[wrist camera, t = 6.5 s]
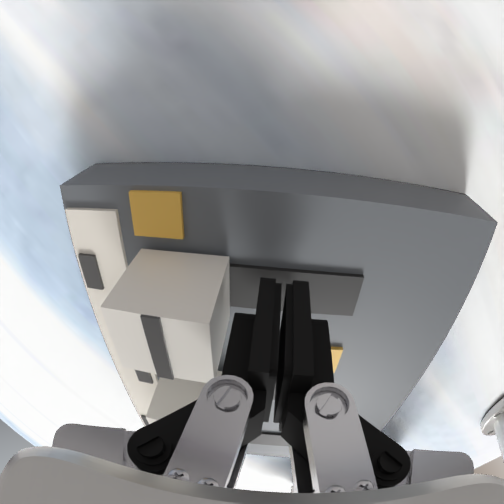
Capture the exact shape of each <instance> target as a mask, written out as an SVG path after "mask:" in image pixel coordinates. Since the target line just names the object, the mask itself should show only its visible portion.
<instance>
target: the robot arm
mask: <svg viewBox="0 0 504 504" xmlns="http://www.w3.org/2000/svg"><path fill="white" fill-rule="evenodd" d="M281 291H282V283H276V279H274V278H263V277H261V278H260V285H259V292H258V300H257V307H256V314H246V313H236V312H235V314H234V318H233V322H232V327H231V332H230V337H229V342H228V346H227V351H226V356H225V361H224V366H223V370H222V375H221V376H217V377H215V378H212V379H211V380H209V381H208V382H207V383H206V384H205V385H204V387H203V388H202V390H201V393H200V395H199V397H198V399H197V400H195V401H194V402H192V403H190V404H188V405H186V406H184V407H182V408H180V409H178V410H177V411H175V412H173V413H171V414H169V415H167V416H165V417H163V418H161V419H159V420H157V421H155V422H153V423H151V424H149V425H147V426H145V427H143V428H141V429H139V430H137V431H126V429H123V428H109V427H98V426H88V425H80V424H66V425H63V426H61V427H60V428H59V429H58V430H57V431H56V433H55V436H54V440H53V445H52V447H48V446H42V447H29V448H25V449H22V450H20V451H19V452H17V453H16V454H15V455H14V456H13V457H12V458H11V459H10V460H9V462H8V463H7V465H6V466H5V468H4V470H3V471H2V473H1V475H0V504H504V479H502V478H499V477H496V476H492V475H487V474H474V466H473V461H472V460H471V458H470V456H468V455H467V454H465V453H462V452H448V451H431V450H418V449H414V450H413V451H406V450H404V449H403V448H402V447H401V446H400V445H399V444H397V443H396V442H394V441H393V440H392V439H390V438H389V437H388V436H386V435H385V434H384V433H382V432H381V431H380V430H378V429H377V428H376V427H374V426H373V425H372V424H370V423H369V422H368V421H367V420H365V419H364V418H363V417H361V416H360V415H359V414H358V412H357V408H356V405H355V402H354V399H353V397H352V395H351V393H350V392H349V391H348V390H347V389H346V388H344V387H343V386H341V385H339V384H335V383H334V374H333V364H332V354H331V344H330V335H329V326H328V321H327V320H319V319H311V304H310V291H309V282H308V281H298V280H293V282H292V284H286V290H285V298H284V305H283V312H282V319H281V326H280V316H281ZM275 384H276V390H275ZM274 390H275V405H274V419H273V423H279V431H281V437H282V438H283V439H284V440H285V441H286V442H287V443H289V453H290V461H291V469H292V477H293V485H294V493H279V492H262V491H250V490H240V489H235V486H236V483H237V480H238V477H239V474H240V471H241V468H242V465H243V462H244V459H245V456H246V452H247V449H248V446H249V443H250V442H251V441H253V440H254V439H256V438H257V437H258V436H260V435H261V431H262V425H263V422H269V417H270V411H271V406H272V401H273V395H274ZM480 426H481V430H482V433H483V434H484V435H496V436H497V439H498V443H499V446H500V450H501V454H502V458H503V461H504V397H503V398H502V399H501V400H500V401H499V402H497V403H496V404H495V405H494V406H493V407H492V408H491V409H490V410H489V412H488V413H487V414H486V415H485V417H484V418H483V420H482V422H481V425H480Z"/></svg>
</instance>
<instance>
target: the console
mask: <svg viewBox="0 0 504 504" xmlns="http://www.w3.org/2000/svg"><path fill="white" fill-rule="evenodd" d="M60 189H61V194H62V199H63V204H64V209H65V213H66V218H67V222H68V227H69V231H70V235H71V239H72V243H73V246H74V250H75V254H76V258H77V261H78V265H79V268H80V271H81V275H82V278H83V281H84V284H85V287H86V291H87V294H88V297H89V300H90V303H91V305H92V308H93V311H94V314H95V317H96V319H97V322H98V325H99V327H100V330H101V333H102V335H103V338H104V340H105V343H106V345H107V348H108V350H109V353H110V355H111V357H112V360H113V362H114V364H115V367H116V369H117V371H118V373H119V375H120V378H121V380H122V382H123V384H124V386H125V388H126V390H127V393H128V395H129V397H130V399H131V401H132V403H133V405H134V407H135V409H136V411H137V413H138V414H139V416H140V418H141V420H142V422H143V424H144V426H147V425H149V423H148V421H147V419H146V414H147V412H148V409H149V406H150V403H151V400H152V397H153V395H154V392H155V389H156V386H157V384H158V381H159V378H160V377H158V376H157V374H153V373H148V372H143V371H139V370H134V369H130V368H126V367H123V366H122V364H121V362H120V359H119V357H118V354H117V352H116V349H115V346H114V344H113V341H112V339H111V336H110V333H109V331H108V328H107V325H106V322H105V319H104V316H103V314H102V311H101V308H100V306H101V305H102V303H103V302H104V301H105V299H106V298H107V296H108V295H109V293H110V292H111V290H112V289H113V287H114V286H115V284H116V283H117V282H118V280H119V279H120V277H121V276H122V274H123V273H124V272H125V270H126V269H127V267H128V266H129V265H130V263H131V262H132V260H133V259H134V258H135V256H136V255H137V254H138V252H139V251H140V250H141V249H152V250H162V251H173V252H184V253H195V254H207V255H218V256H229V278H230V318H229V322H228V327H227V331H226V335H225V340H224V344H223V349H222V353H221V357H220V362H219V366H218V371H222V370H223V366H224V361H225V356H226V351H227V346H228V342H229V337H230V332H231V327H232V322H233V318H234V314H235V312H236V313H246V314H256V307H257V300H258V292H259V285H260V278H261V277H263V278H274V279H276V283H282V291H281V316H280V326H281V319H282V312H283V305H284V298H285V290H286V284H292V282H293V280H298V281H308V282H309V291H310V304H311V319H319V320H327V321H328V326H329V335H330V344H331V354H332V364H333V374H334V383H335V384H339V385H341V386H343V387H344V388H346V389H347V390H348V391H349V392H350V393H351V395H352V397H353V399H354V402H355V405H356V408H357V412H358V414H359V415H360V416H361V417H363V418H364V419H365V420H367V421H368V422H369V423H370V424H372V425H373V426H374V427H376V428H377V429H378V430H380V431H382V430H383V428H384V427H385V426H386V425H387V423H388V422H389V421H390V420H391V418H392V417H393V416H394V414H395V413H396V412H397V410H398V409H399V408H400V406H401V405H402V404H403V402H404V401H405V400H406V398H407V397H408V396H409V394H410V393H411V391H412V390H413V388H414V387H415V386H416V384H417V383H418V381H419V380H420V378H421V377H422V375H423V374H424V372H425V371H426V369H427V367H428V366H429V364H430V363H431V361H432V360H433V358H434V356H435V355H436V353H437V351H438V350H439V348H440V346H441V345H442V343H443V341H444V339H445V338H446V336H447V334H448V332H449V331H450V329H451V327H452V325H453V323H454V321H455V320H456V318H457V316H458V314H459V312H460V310H461V308H462V306H463V304H464V302H465V300H466V298H467V296H468V294H469V292H470V290H471V287H472V285H473V283H474V281H475V279H476V276H477V274H478V272H479V270H480V267H481V265H482V262H483V260H484V258H485V255H486V253H487V250H488V247H489V245H490V242H491V240H492V237H493V234H494V231H495V228H496V226H497V223H498V222H497V221H495V220H494V219H493V218H492V217H491V216H490V215H489V214H488V213H487V212H486V211H484V210H483V209H482V208H481V207H480V206H479V205H478V204H476V203H475V202H474V201H473V200H472V199H471V198H469V197H468V196H467V195H465V194H461V193H456V192H451V191H446V190H441V189H436V188H431V187H425V186H420V185H414V184H408V183H403V182H396V181H390V180H384V179H377V178H370V177H363V176H355V175H348V174H340V173H331V172H322V171H313V170H303V169H292V168H280V167H267V166H252V165H235V164H212V163H169V162H144V163H102V164H94V165H93V166H91V167H89V168H88V169H86V170H84V171H83V172H81V173H79V174H78V175H76V176H74V177H73V178H71V179H69V180H68V181H66V182H65V183H63V184H62V185H60ZM275 390H276V384H275ZM275 390H274V395H273V401H272V406H271V411H270V417H269V422H263V425H262V431H261V435H260V436H258V437H257V438H256V439H254V440H253V441H251V442H250V443H249V446H248V449H247V452H246V454H252V455H263V456H276V457H290V453H289V443H287V442H286V441H285V440H284V439H283V438H282V437H281V431H279V423H273V419H274V405H275Z"/></svg>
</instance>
